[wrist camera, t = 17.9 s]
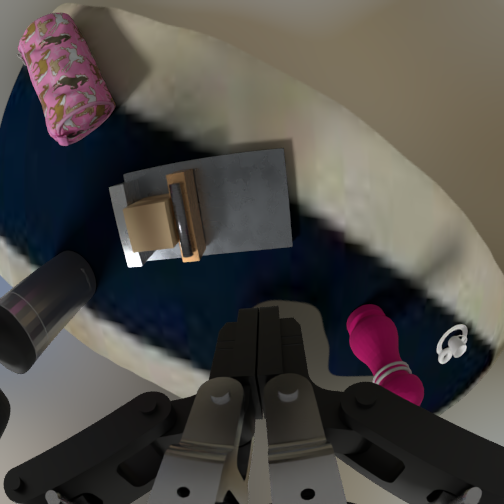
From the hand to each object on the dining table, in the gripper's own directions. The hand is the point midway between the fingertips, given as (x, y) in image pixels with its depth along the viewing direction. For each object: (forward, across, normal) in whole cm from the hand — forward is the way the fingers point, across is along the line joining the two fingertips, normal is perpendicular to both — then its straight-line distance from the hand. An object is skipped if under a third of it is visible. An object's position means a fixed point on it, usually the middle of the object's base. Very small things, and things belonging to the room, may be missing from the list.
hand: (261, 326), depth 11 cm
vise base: (+25, +7, 0) cm, 26 cm away
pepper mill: (+25, -14, +20) cm, 35 cm away
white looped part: (+26, -32, +30) cm, 51 cm away
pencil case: (+25, +24, -23) cm, 41 cm away
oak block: (+24, +12, 0) cm, 26 cm away
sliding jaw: (+23, +9, 0) cm, 25 cm away
